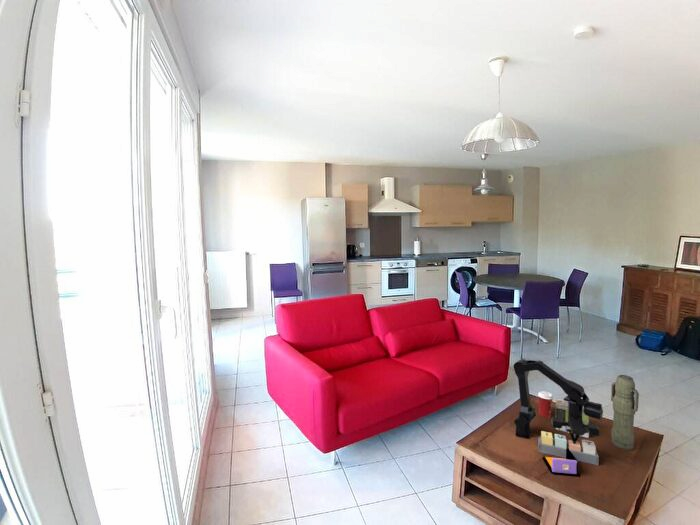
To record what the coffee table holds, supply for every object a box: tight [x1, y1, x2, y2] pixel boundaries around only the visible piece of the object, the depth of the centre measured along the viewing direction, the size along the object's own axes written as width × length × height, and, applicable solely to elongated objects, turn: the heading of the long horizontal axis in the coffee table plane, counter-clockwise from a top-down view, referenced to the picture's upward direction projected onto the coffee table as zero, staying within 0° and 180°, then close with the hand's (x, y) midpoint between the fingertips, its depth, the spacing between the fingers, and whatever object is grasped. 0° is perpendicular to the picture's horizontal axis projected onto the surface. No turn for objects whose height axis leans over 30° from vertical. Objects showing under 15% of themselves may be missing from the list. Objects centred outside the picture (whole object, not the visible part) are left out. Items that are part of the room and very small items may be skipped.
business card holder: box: [542, 448, 581, 478], centre depth 157 cm, size 12×12×7 cm
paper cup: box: [537, 390, 554, 419], centre depth 199 cm, size 8×8×14 cm
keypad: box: [537, 435, 600, 466], centre depth 166 cm, size 24×7×4 cm, turn 64°
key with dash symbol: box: [567, 439, 581, 452], centre depth 165 cm, size 5×5×4 cm
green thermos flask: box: [610, 374, 640, 451], centre depth 172 cm, size 9×12×35 cm
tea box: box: [555, 397, 590, 439], centre depth 186 cm, size 15×10×15 cm
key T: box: [581, 438, 597, 455], centre depth 162 cm, size 5×5×4 cm
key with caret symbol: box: [553, 433, 568, 449], centre depth 167 cm, size 5×5×4 cm
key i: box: [540, 430, 554, 446], centre depth 169 cm, size 5×5×4 cm
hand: (574, 443), depth 165 cm, fingers closed, pressing on key with dash symbol
